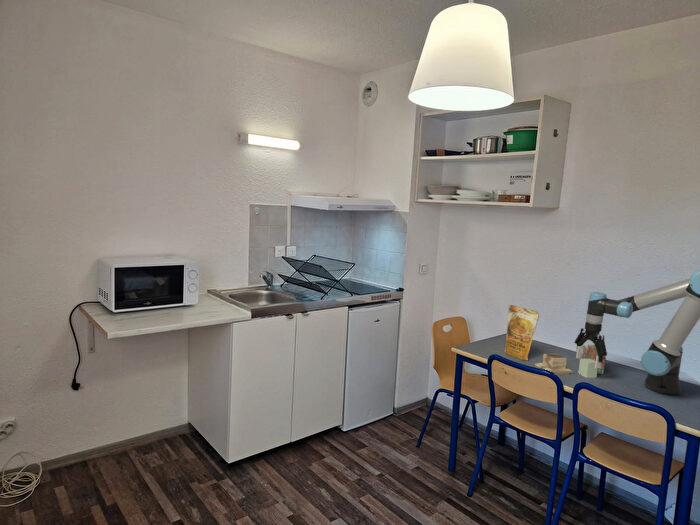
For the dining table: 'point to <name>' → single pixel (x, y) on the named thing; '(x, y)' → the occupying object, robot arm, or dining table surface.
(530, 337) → the pancake mix bag
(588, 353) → the printed food box
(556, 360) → the tower base
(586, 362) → the sage block
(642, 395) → the dining table surface
